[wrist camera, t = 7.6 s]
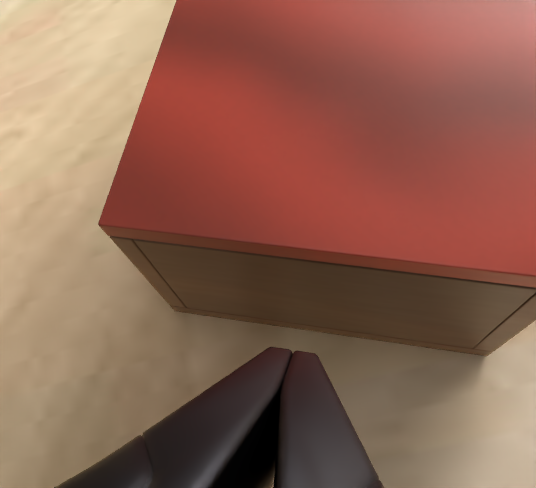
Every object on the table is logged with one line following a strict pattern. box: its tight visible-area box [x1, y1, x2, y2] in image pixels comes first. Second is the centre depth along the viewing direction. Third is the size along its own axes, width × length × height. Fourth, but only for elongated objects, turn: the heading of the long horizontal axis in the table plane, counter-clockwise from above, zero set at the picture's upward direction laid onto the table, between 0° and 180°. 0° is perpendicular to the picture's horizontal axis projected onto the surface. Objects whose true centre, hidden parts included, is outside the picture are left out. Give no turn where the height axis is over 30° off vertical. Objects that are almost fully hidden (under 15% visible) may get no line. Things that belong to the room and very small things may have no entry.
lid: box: [98, 0, 536, 288], centre depth 17 cm, size 13×14×1 cm
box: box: [110, 236, 536, 356], centre depth 21 cm, size 13×14×8 cm
